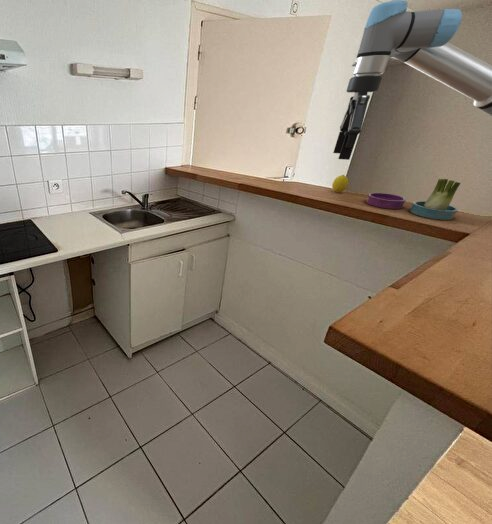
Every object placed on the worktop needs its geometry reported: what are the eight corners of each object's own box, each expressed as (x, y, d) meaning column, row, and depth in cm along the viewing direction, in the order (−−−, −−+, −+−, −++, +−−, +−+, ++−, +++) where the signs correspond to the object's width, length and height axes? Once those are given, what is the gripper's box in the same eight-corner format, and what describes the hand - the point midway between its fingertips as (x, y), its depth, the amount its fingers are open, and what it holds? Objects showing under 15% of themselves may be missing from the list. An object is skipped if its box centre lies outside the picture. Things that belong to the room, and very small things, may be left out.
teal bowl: (444, 212, 101) (449, 203, 99) (458, 223, 92) (464, 213, 90) (405, 208, 105) (409, 199, 103) (415, 218, 96) (420, 208, 95)
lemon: (344, 192, 125) (351, 174, 121) (343, 195, 121) (350, 176, 117) (330, 191, 127) (336, 172, 124) (329, 193, 124) (335, 175, 120)
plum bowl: (397, 203, 111) (401, 194, 109) (406, 211, 102) (410, 202, 100) (363, 200, 115) (366, 191, 113) (368, 207, 106) (372, 198, 105)
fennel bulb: (445, 217, 95) (464, 181, 90) (428, 216, 96) (446, 181, 90) (433, 211, 100) (451, 177, 94) (417, 211, 101) (434, 177, 95)
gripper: (344, 79, 90) (323, 150, 100) (358, 72, 70) (331, 161, 81) (372, 78, 87) (348, 151, 97) (395, 70, 67) (362, 163, 78)
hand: (340, 156), depth 89 cm, fingers open, 13 cm apart
